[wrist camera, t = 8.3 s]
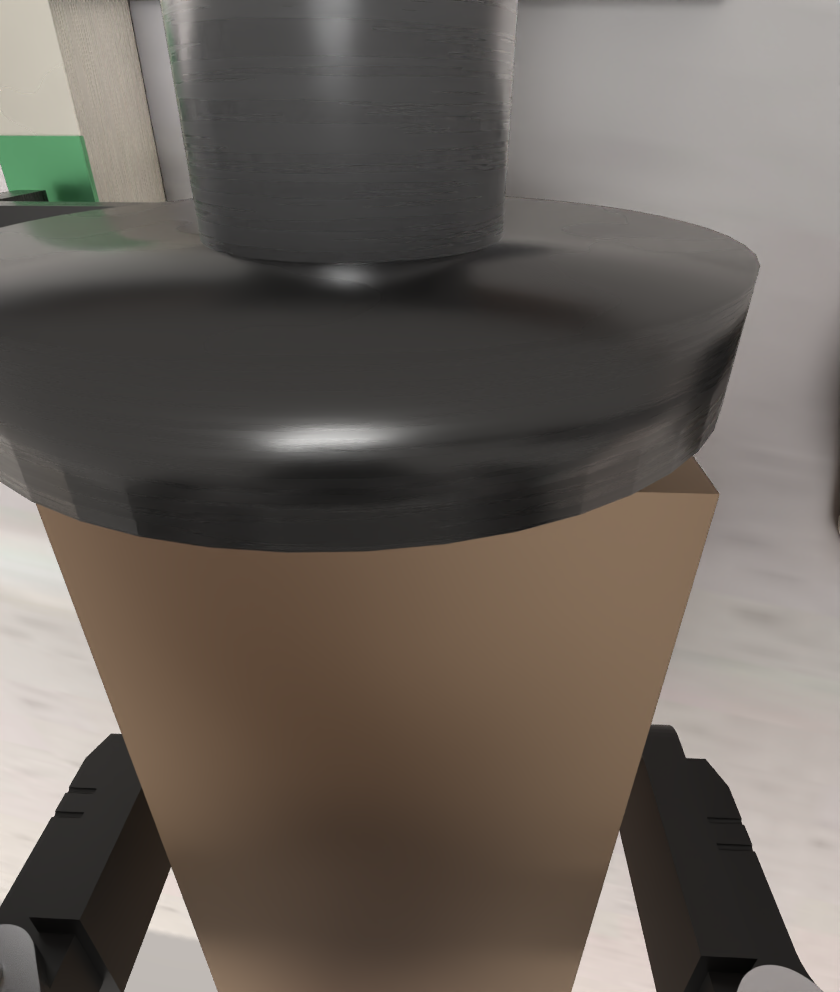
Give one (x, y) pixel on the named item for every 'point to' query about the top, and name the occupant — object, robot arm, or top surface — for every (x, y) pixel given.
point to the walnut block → (392, 735)
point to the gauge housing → (75, 103)
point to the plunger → (352, 305)
